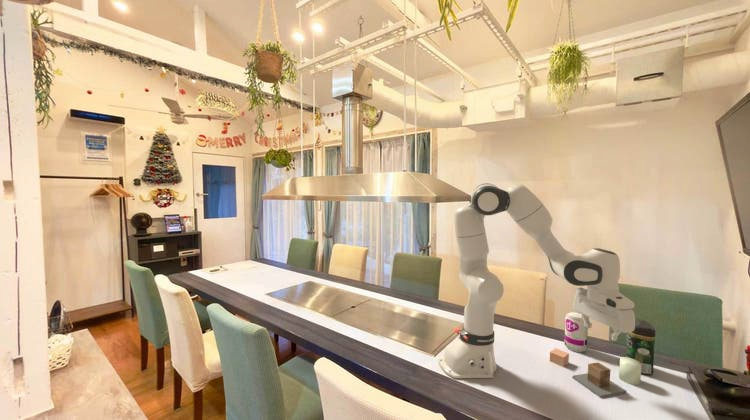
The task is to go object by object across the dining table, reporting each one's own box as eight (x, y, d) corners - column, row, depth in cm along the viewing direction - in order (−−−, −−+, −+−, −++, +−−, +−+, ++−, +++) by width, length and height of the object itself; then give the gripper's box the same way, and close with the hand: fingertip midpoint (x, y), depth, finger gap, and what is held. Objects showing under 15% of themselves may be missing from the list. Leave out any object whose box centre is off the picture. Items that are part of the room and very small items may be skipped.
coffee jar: (623, 359, 124) (625, 315, 123) (648, 365, 120) (651, 319, 119) (628, 371, 116) (631, 324, 115) (655, 378, 112) (658, 329, 111)
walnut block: (599, 387, 105) (600, 371, 105) (587, 379, 109) (588, 363, 109) (609, 385, 106) (610, 369, 106) (597, 378, 110) (598, 362, 110)
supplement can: (576, 354, 128) (578, 319, 127) (559, 344, 136) (561, 312, 135) (591, 351, 130) (593, 317, 129) (574, 342, 138) (575, 310, 137)
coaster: (600, 397, 101) (600, 395, 101) (572, 377, 112) (572, 375, 112) (626, 393, 104) (626, 390, 104) (596, 373, 114) (596, 371, 114)
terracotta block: (563, 367, 119) (563, 357, 119) (549, 361, 123) (550, 351, 123) (568, 363, 122) (568, 353, 122) (555, 357, 126) (555, 348, 126)
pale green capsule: (631, 386, 107) (632, 367, 107) (614, 376, 113) (615, 358, 113) (644, 384, 109) (645, 365, 108) (627, 374, 114) (628, 356, 114)
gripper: (569, 286, 115) (567, 321, 116) (624, 306, 95) (621, 348, 96) (583, 285, 117) (581, 320, 118) (640, 305, 97) (637, 347, 98)
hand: (599, 333), depth 107 cm, fingers open, 8 cm apart
